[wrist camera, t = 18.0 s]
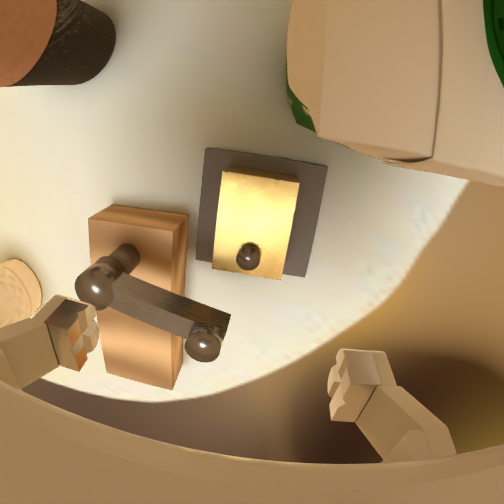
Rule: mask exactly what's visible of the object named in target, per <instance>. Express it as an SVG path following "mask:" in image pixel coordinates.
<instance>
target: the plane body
mask: <svg viewBox="0 0 504 504" xmlns="http://www.w3.org/2000/svg"><path fill="white" fill-rule="evenodd" d="M88 226H89V244H90V258H91V265H92V264H93V263H94V262H95V261H96V260H98V259H99V258H100V257H103V256H110V257H113V258H115V259H117V260H118V261H119V262H120V263H121V264H122V265H123V267H124V268H125V270H126V273H127V274H129V275H131V276H133V277H136V278H138V279H141V280H143V281H146V282H148V283H150V284H153V285H155V286H158V287H160V288H163V289H165V290H168V291H170V292H173V293H175V294H178V295H181V296H183V297H184V283H185V262H186V244H187V229H188V215H185V214H178V213H171V212H163V211H156V210H149V209H142V208H134V207H127V206H119V205H111V206H109V207H107V208H105V209H104V210H102V211H100V212H98V213H97V214H95V215H93V216H92V217H90V218H88ZM96 313H97V320H98V326H99V333H100V339H101V344H102V350H103V355H104V361H105V366H106V371H107V373H110V374H113V375H117V376H120V377H123V378H127V379H130V380H134V381H138V382H141V383H145V384H149V385H153V386H157V387H161V388H165V389H169V390H173V387H174V384H175V382H176V379H177V377H178V374H179V372H180V369H181V366H182V364H183V338H182V337H180V336H177V335H174V334H172V333H169V332H167V331H164V330H162V329H159V328H157V327H154V326H152V325H150V324H147V323H145V322H142V321H140V320H138V319H135V318H133V317H131V316H128V315H126V314H124V313H122V312H119V311H117V310H115V309H113V308H110V307H107V308H105V309H104V310H101V311H96Z"/></svg>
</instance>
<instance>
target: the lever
mask: <svg viewBox="0 0 504 504" xmlns="http://www.w3.org/2000/svg"><path fill="white" fill-rule="evenodd" d="M75 290H76V293H77V296H78V297H79V299H80V300H81V301H82V302H86V303H89V304H92V305H93V306H95V310H96V311H101V310H104V309H105V308H107V307H110V308H113V309H115V310H117V311H119V312H122V313H124V314H126V315H128V316H131V317H133V318H135V319H138V320H140V321H142V322H145V323H147V324H150V325H152V326H154V327H157V328H159V329H162V330H164V331H167V332H169V333H172V334H174V335H177V336H180V337H182V338H185V339H187V340H186V342H185V350H186V352H187V354H188V355H189V356H190V357H191V358H193V359H195V360H197V361H200V362H211V361H214V360H215V359H216V358H217V357H218V356H219V353H220V349H221V345H222V342H223V339H224V337H225V334H226V331H227V327H228V324H229V320H230V316H231V314H228V313H226V312H223V311H220V310H217V309H215V308H212V307H209V306H207V305H204V304H201V303H199V302H196V301H193V300H191V299H188V298H186V297H183V296H181V295H178V294H175V293H173V292H170V291H168V290H165V289H163V288H160V287H158V286H155V285H153V284H150V283H148V282H146V281H143V280H141V279H138V278H136V277H133V276H131V275H129V274H127V273H126V270H125V268H124V267H123V265H122V264H121V263H120V262H119V261H118V260H117V259H115V258H113V257H110V256H103V257H100V258H99V259H98V260H96V261H95V262H94V263H93V264H92V265H91V266H90V267H88V268H87V269H86V270H85V271H84V272H83V273H82V274H80V275H79V276H78V277H77V279H76V282H75Z"/></svg>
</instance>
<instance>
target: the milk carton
mask: <svg viewBox="0 0 504 504" xmlns="http://www.w3.org/2000/svg"><path fill="white" fill-rule="evenodd" d="M286 88H287V94H288V98H289V101H290V104H291V107H292V110H293V113H294V116H295V119H296V123H297V124H300V125H302V126H304V127H306V128H308V129H310V130H312V131H314V132H316V133H317V136H318V137H320V138H323V139H326V140H330V141H333V142H337V143H339V144H341V145H344V146H346V147H348V148H351V149H353V150H356V151H358V152H360V153H363V154H365V155H368V156H371V157H375V158H379V159H383V160H388V161H393V162H399V163H392V162H386V161H383V163H384V164H387V165H392V166H397V167H402V168H408V169H414V170H419V171H425V172H433V173H438V174H442V175H448V176H453V177H458V178H463V179H468V180H473V181H478V182H483V183H488V184H493V185H498V186H504V0H292V5H291V10H290V16H289V22H288V34H287V53H286Z"/></svg>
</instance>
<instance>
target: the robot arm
mask: <svg viewBox="0 0 504 504" xmlns="http://www.w3.org/2000/svg"><path fill="white" fill-rule="evenodd" d="M95 316H96V310H95V306H93V305H92V304H89V303H86V302H82V301H79V300H76V299H72V298H68V297H65V296H62V295H55V296H54V297H53V298H52V299H51V300H50V301H49V302H48V303H47V304H46V305H45V306H44V307H43V308H42V309H41V310H40V311H39V312H38V313H37V314H36V315H35V316H34V317H33V318H32V319H31V318H27V319H24V320H21V321H18V322H16V323H13V324H10V325H7V326H4V327H2V328H0V504H504V445H500V446H496V447H492V448H487V449H483V450H479V451H474V452H469V453H464V454H458V455H457V454H456V451H455V448H454V445H453V442H452V439H451V436H450V433H449V430H448V428H447V426H445V424H443V423H442V422H441V421H440V420H439V419H438V418H436V417H435V416H434V415H433V414H432V413H431V412H430V411H428V410H427V409H426V408H425V407H424V406H423V405H421V404H420V403H419V402H418V401H417V400H416V399H415V398H414V397H412V396H411V395H410V394H409V393H408V392H407V391H406V390H404V389H403V388H402V387H401V386H397V385H396V382H395V379H394V376H393V373H392V371H391V368H390V365H389V362H388V359H387V356H386V354H385V352H383V351H363V350H352V349H340V350H339V352H338V354H337V356H336V361H337V364H336V365H335V366H333V367H332V369H331V371H330V374H329V379H328V395H329V396H330V397H331V398H332V400H331V402H330V404H329V406H330V414H331V420H333V421H348V422H356V424H357V426H358V427H359V428H360V430H361V431H362V432H363V434H364V435H365V436H366V437H367V439H368V440H369V441H370V443H371V444H372V445H373V447H374V448H375V449H376V451H377V452H378V453H379V455H380V456H381V457H382V458H383V461H382V462H381V463H375V464H309V463H292V462H279V461H268V460H258V459H250V458H243V457H235V456H228V455H222V454H217V453H211V452H205V451H200V450H195V449H190V448H186V447H181V446H176V445H172V444H168V443H164V442H160V441H156V440H152V439H149V438H145V437H141V436H138V435H134V434H131V433H128V432H124V431H121V430H118V429H115V428H112V427H109V426H106V425H103V424H100V423H97V422H94V421H92V420H89V419H86V418H83V417H80V416H78V415H75V414H73V413H70V412H68V411H65V410H63V409H61V408H58V407H56V406H53V405H51V404H49V403H47V402H44V401H42V400H40V399H38V398H35V397H33V396H31V395H29V394H27V393H25V392H23V391H21V389H22V388H23V387H25V386H27V385H29V384H30V383H32V382H34V381H35V380H37V379H39V378H40V377H42V376H44V375H45V374H47V373H49V372H50V371H52V370H54V369H55V368H57V367H59V365H60V366H63V367H66V368H69V369H72V370H75V371H80V370H81V368H82V367H83V365H84V364H85V362H86V360H87V353H89V352H91V351H93V350H94V348H95V347H96V345H97V342H98V338H99V327H98V324H97V323H96V322H95V320H94V317H95Z"/></svg>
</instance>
